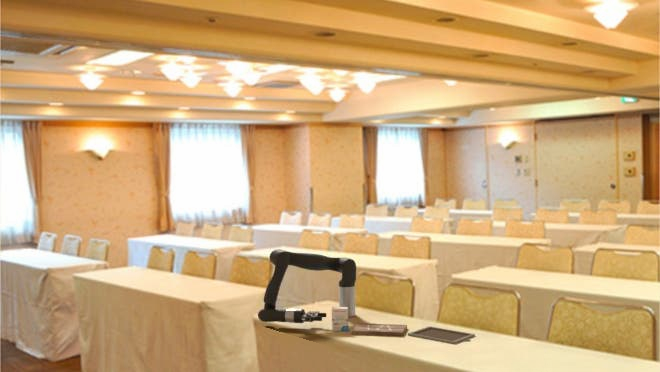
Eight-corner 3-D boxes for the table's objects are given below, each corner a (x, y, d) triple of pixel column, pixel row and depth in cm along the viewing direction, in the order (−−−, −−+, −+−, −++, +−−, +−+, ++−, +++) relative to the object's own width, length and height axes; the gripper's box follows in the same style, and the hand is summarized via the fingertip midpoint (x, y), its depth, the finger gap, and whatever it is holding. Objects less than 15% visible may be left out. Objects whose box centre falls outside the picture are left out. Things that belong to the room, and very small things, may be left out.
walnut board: (358, 326, 353) (358, 322, 353) (407, 328, 346) (406, 324, 346) (351, 334, 338) (351, 330, 338) (402, 336, 331) (402, 332, 331)
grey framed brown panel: (429, 326, 347) (479, 334, 327) (429, 329, 347) (479, 338, 327) (407, 333, 333) (459, 343, 313) (407, 336, 333) (459, 346, 313)
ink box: (349, 328, 349) (348, 306, 349) (348, 331, 344) (347, 308, 344) (332, 328, 350) (332, 306, 350) (331, 331, 345) (331, 308, 345)
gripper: (290, 311, 347) (320, 312, 343) (298, 306, 360) (327, 307, 356) (291, 326, 347) (320, 327, 343) (299, 319, 361) (327, 320, 356)
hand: (324, 316), depth 350 cm, fingers open, 8 cm apart
